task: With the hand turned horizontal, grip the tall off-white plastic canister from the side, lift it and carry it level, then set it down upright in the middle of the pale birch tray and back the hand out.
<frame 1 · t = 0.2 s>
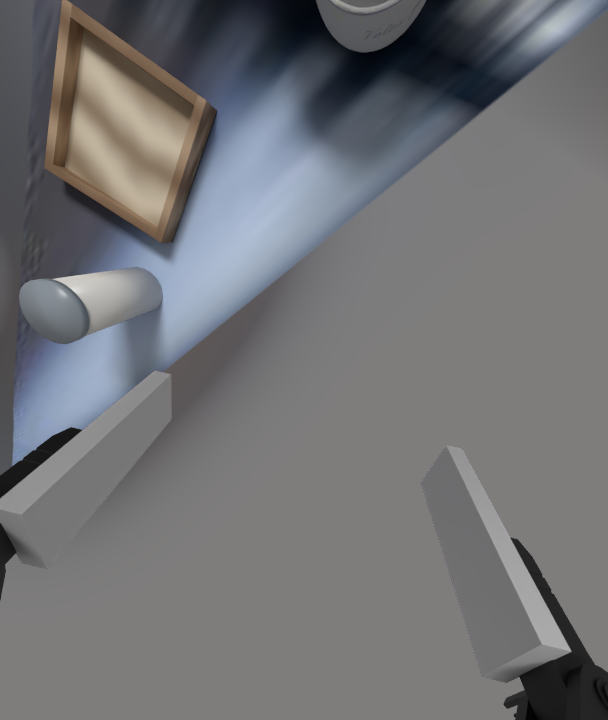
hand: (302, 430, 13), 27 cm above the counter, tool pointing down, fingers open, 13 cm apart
tray: (134, 143, 33), on the counter
canister: (142, 289, 41), on the counter
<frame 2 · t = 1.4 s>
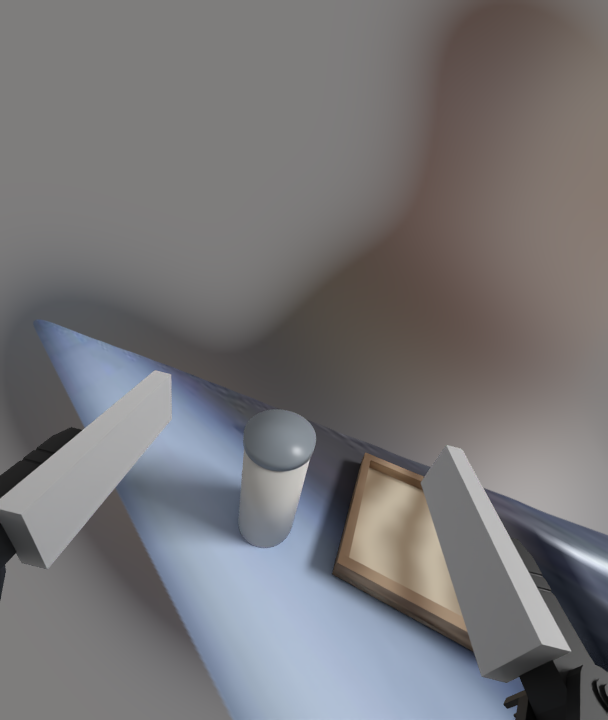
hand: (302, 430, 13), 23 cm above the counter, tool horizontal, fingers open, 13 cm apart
tray: (411, 537, 33), on the counter
canister: (266, 518, 32), on the counter
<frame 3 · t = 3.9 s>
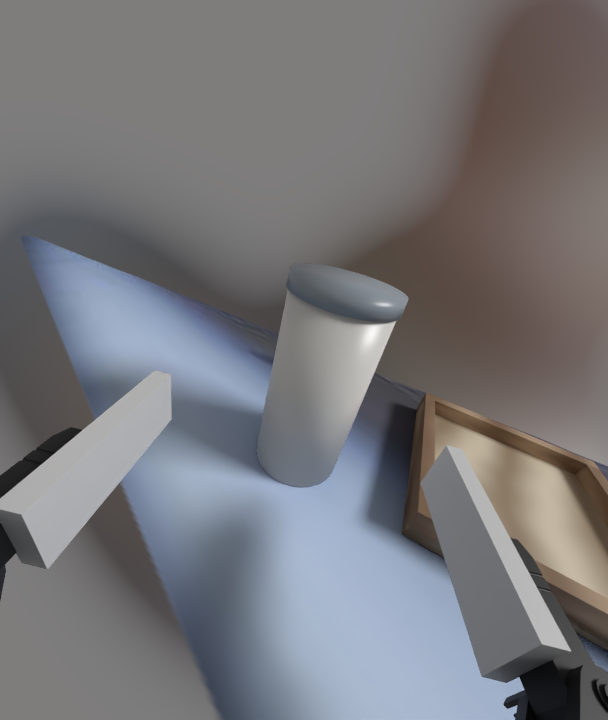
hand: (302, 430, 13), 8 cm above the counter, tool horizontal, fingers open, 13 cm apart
tray: (506, 500, 22), on the counter
canister: (296, 450, 22), on the counter
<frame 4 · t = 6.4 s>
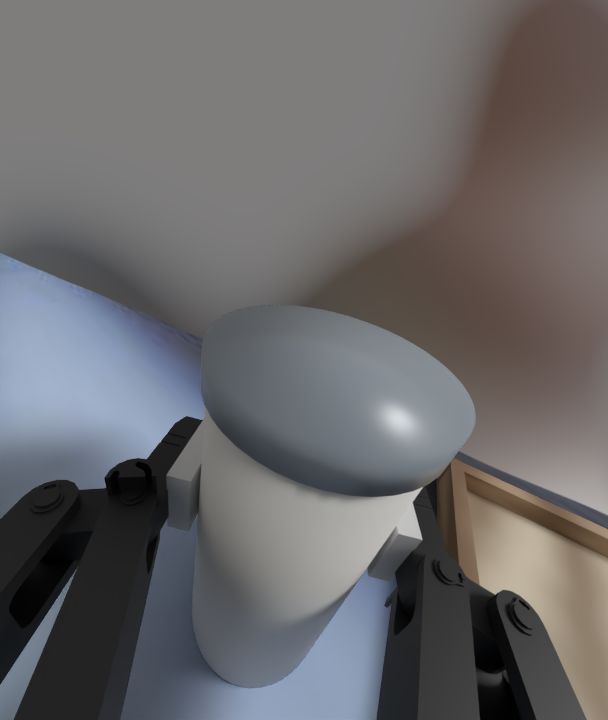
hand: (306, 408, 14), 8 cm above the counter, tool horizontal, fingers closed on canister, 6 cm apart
tray: (589, 659, 14), on the counter
canister: (260, 589, 14), on the counter, touching gripper
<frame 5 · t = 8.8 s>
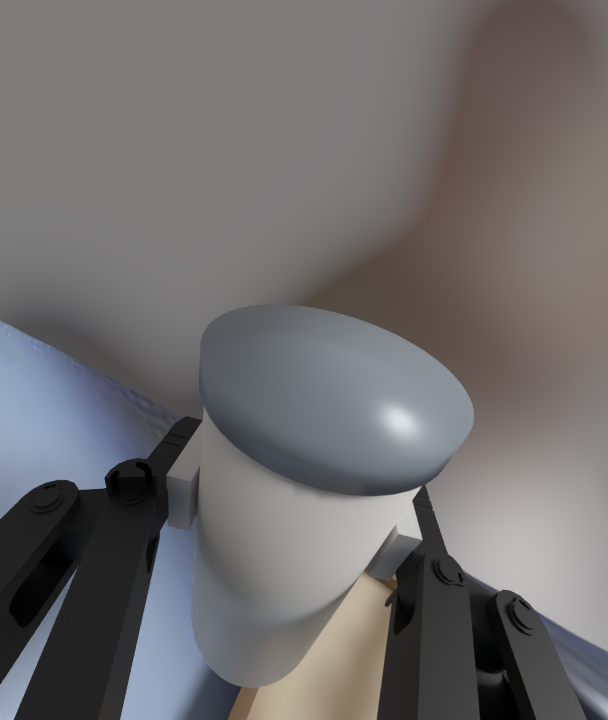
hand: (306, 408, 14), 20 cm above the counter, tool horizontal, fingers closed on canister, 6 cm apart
tray: (363, 691, 20), on the counter
canister: (259, 589, 14), point 12 cm above the counter, touching gripper
when the fingers open (10 cm above the counter, at t = 11.7 s): canister drops 1 cm, resting on tray.
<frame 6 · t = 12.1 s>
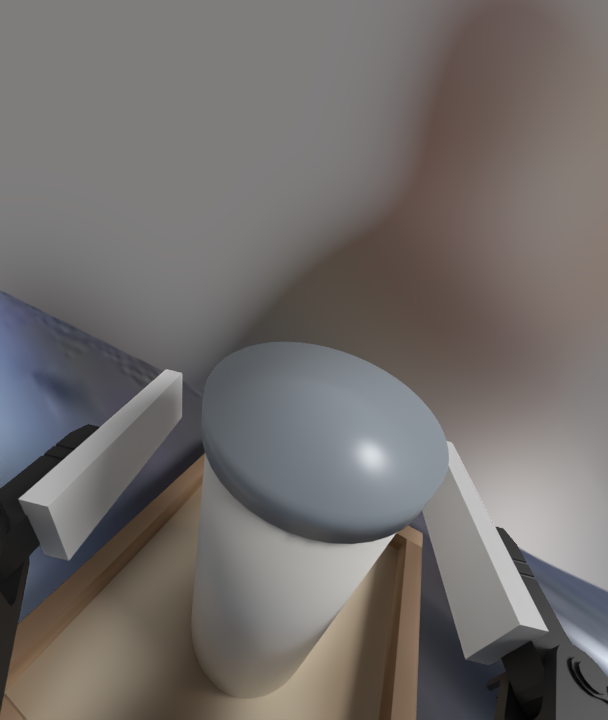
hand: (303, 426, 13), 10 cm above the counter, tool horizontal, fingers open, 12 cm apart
tray: (253, 609, 15), on the counter
canister: (256, 602, 14), point 1 cm above the counter, touching tray
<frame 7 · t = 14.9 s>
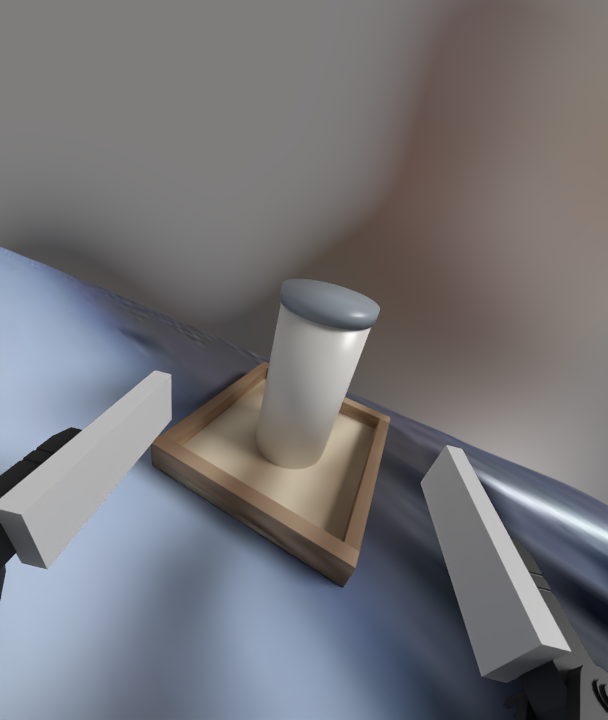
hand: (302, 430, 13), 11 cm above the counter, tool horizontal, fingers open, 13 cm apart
tray: (288, 446, 26), on the counter
canister: (290, 439, 25), point 1 cm above the counter, touching tray
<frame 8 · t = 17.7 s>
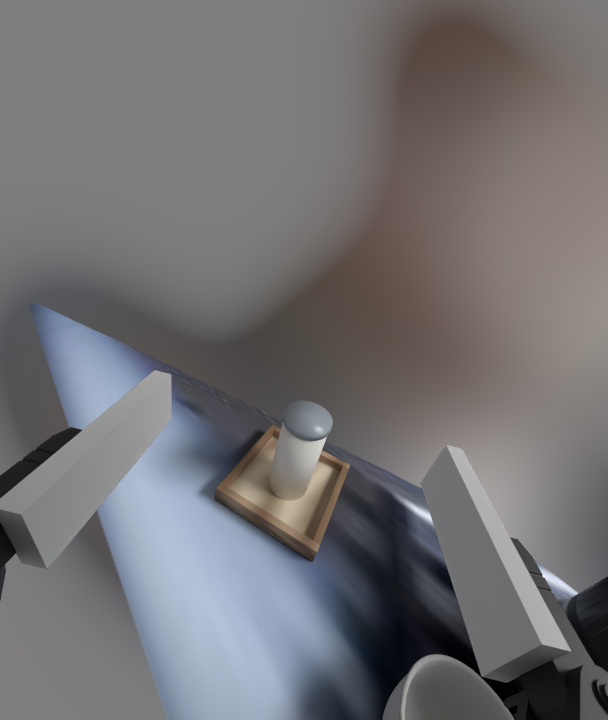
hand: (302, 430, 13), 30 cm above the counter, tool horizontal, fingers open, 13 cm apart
tray: (287, 485, 44), on the counter
canister: (288, 481, 43), point 1 cm above the counter, touching tray
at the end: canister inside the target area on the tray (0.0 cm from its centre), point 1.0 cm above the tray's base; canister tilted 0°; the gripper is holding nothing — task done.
